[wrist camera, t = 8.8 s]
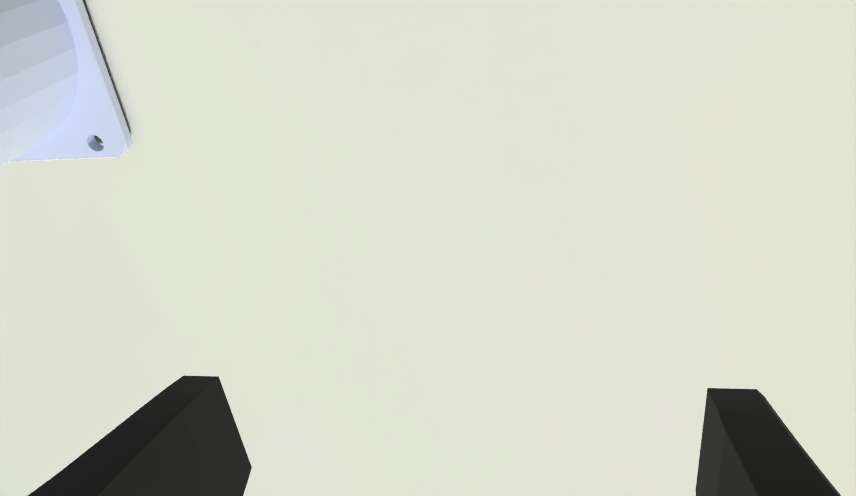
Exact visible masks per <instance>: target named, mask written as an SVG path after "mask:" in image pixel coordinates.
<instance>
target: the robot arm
mask: <svg viewBox="0 0 856 496" xmlns="http://www.w3.org/2000/svg"><path fill="white" fill-rule="evenodd" d="M95 136H97V137H99V138H100V139H101V140H102V142H103V145H104V146H102V145H100V144H99V143H98V142H97V141H96V139H95ZM131 146H132V138H131V135H130V132H129V129H128V127H127V124H126V121H125V118H124V115H123V113H122V110H121V107H120V104H119V101H118V99H117V96H116V93H115V90H114V87H113V85H112V82H111V79H110V76H109V73H108V71H107V68H106V65H105V62H104V59H103V57H102V54H101V51H100V48H99V45H98V42H97V40H96V37H95V34H94V31H93V28H92V26H91V23H90V20H89V17H88V14H87V12H86V9H85V6H84V3H83V0H0V167H2V166H3V165H5V164H7V163H8V162H20V161H44V160H68V159H91V158H115V157H120V156H123V155H124V154H125V153H127V152H128V151H129V150H130V149H131ZM251 468H252V467H251V464H250V462H249V459H248V456H247V454H246V451H245V448H244V445H243V443H242V440H241V437H240V434H239V432H238V429H237V426H236V423H235V421H234V418H233V415H232V412H231V410H230V407H229V404H228V401H227V399H226V396H225V393H224V390H223V388H222V385H221V382H220V379H219V377H211V376H183V377H181V378H180V379H178V380H177V381H176V382H174V383H173V384H171V385H170V386H169V387H167V388H166V389H165V390H163V391H162V392H161V393H159V394H158V395H157V396H155V397H154V398H153V399H152V400H150V401H149V402H148V403H147V404H145V405H144V406H143V407H141V408H140V409H139V410H138V411H136V412H135V413H134V414H133V415H131V416H130V417H129V418H128V419H126V420H125V421H124V422H123V423H121V424H120V425H119V426H118V427H116V428H115V429H114V430H112V431H111V432H110V433H109V434H107V435H106V436H105V437H104V438H102V439H101V440H100V441H99V442H97V443H96V444H95V445H93V446H92V447H91V448H90V449H88V450H87V451H86V452H85V453H83V454H82V455H81V456H79V457H78V458H77V459H76V460H74V461H73V462H72V463H71V464H69V465H68V466H67V467H65V468H64V469H63V470H62V471H60V472H59V473H58V474H57V475H55V476H54V477H53V478H51V479H50V480H49V481H47V482H46V483H44V484H43V485H42V486H40V487H39V488H38V489H36V490H35V491H34V492H32V493H31V494H29V495H28V496H243V494H244V491H245V488H246V484H247V481H248V478H249V475H250V471H251ZM696 496H841V495H840V494H839V493H838V491H837V490H836V489H835V488H834V487H833V485H832V484H831V483H830V482H829V480H828V479H827V478H826V477H825V476H824V474H823V473H822V472H821V470H820V469H819V468H818V467H817V465H816V464H815V463H814V462H813V460H812V459H811V458H810V457H809V455H808V454H807V453H806V452H805V450H804V449H803V448H802V446H801V445H800V444H799V442H798V441H797V440H796V439H795V437H794V436H793V435H792V433H791V432H790V431H789V429H788V428H787V427H786V425H785V424H784V423H783V421H782V420H781V419H780V417H779V416H778V415H777V413H776V412H775V411H774V409H773V408H772V406H771V405H770V404H769V402H768V401H767V400H766V398H765V397H764V396H763V395H762V394H761V393H760V392H759V391H758V390H757V389H718V388H708V390H707V398H706V407H705V415H704V424H703V433H702V441H701V450H700V458H699V467H698V475H697V484H696Z"/></svg>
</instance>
